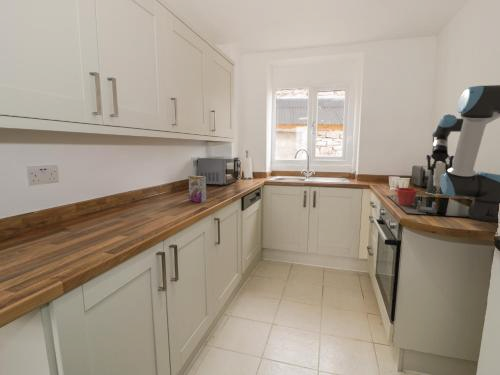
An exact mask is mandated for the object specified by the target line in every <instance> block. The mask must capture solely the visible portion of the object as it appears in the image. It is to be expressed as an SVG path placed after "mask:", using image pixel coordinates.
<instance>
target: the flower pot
mask: <svg viewBox="0 0 500 375" xmlns="http://www.w3.org/2000/svg"><path fill="white" fill-rule="evenodd" d="M396 191H397V193H396V194H397V204H399V205H400V206H409V207H410V206H413V205H414V202H415V198H416V196H417V193H418V190H417V189H416V188H409V187H397V188H396Z"/></svg>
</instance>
